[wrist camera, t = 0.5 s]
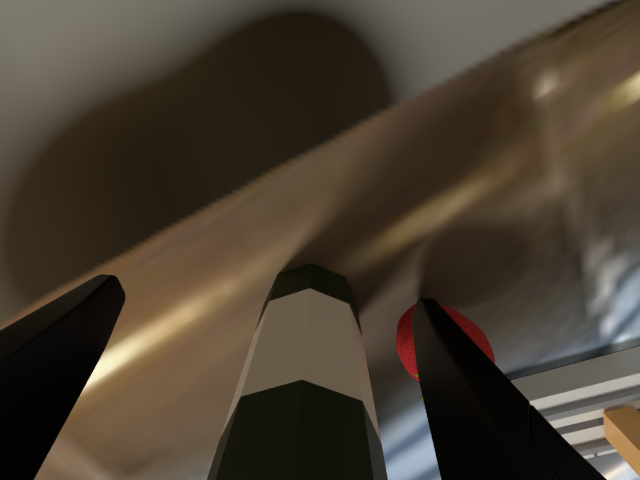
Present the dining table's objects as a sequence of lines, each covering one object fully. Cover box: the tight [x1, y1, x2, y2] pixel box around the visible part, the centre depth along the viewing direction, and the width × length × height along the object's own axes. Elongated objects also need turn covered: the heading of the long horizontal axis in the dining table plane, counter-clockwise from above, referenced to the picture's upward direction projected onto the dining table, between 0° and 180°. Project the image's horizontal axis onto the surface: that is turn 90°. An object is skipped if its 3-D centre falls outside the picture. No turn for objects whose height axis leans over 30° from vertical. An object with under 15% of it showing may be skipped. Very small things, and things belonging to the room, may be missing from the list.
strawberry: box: [396, 304, 495, 399], centre depth 23 cm, size 6×8×10 cm
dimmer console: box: [511, 346, 640, 459], centre depth 29 cm, size 20×10×3 cm, turn 112°
